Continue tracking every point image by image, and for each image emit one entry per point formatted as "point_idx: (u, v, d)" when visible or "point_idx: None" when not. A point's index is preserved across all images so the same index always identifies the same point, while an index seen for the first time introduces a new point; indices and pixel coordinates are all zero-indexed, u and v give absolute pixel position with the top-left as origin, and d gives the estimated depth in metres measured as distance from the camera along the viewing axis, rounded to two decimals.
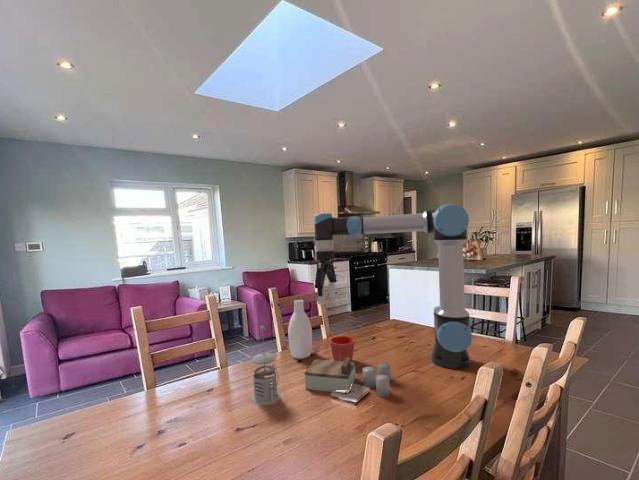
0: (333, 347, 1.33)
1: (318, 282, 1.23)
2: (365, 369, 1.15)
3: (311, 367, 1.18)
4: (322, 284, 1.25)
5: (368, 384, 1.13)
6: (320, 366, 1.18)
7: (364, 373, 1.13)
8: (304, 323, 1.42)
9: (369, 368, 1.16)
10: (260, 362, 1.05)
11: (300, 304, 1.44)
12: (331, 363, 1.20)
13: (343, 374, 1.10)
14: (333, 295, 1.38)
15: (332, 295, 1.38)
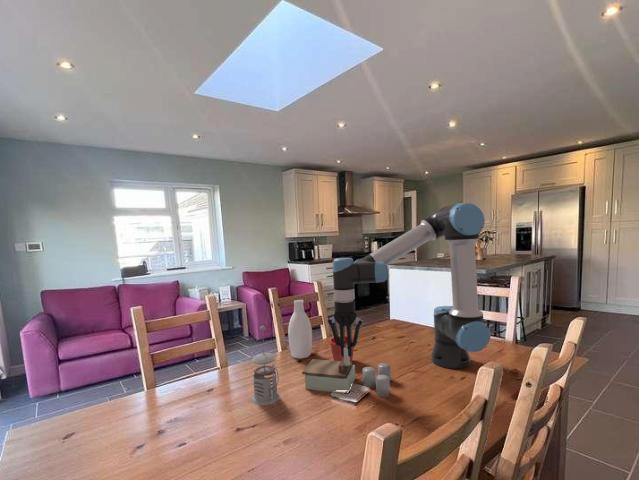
0: (333, 347, 1.33)
1: None
2: (365, 369, 1.15)
3: (308, 367, 1.18)
4: (340, 343, 1.14)
5: (368, 384, 1.13)
6: (317, 366, 1.18)
7: (364, 373, 1.13)
8: (304, 323, 1.42)
9: (369, 368, 1.16)
10: (260, 362, 1.05)
11: (300, 304, 1.44)
12: (328, 363, 1.21)
13: (340, 374, 1.11)
14: None
15: None
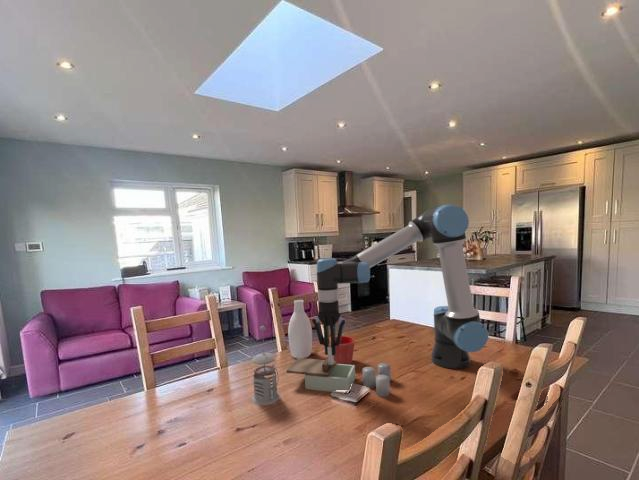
0: None
1: None
2: (365, 369, 1.15)
3: (293, 365, 1.20)
4: (324, 343, 1.16)
5: (368, 384, 1.13)
6: (302, 364, 1.20)
7: (364, 373, 1.13)
8: (304, 323, 1.42)
9: (369, 368, 1.16)
10: (260, 362, 1.05)
11: (300, 304, 1.44)
12: (313, 362, 1.22)
13: (324, 372, 1.13)
14: None
15: None
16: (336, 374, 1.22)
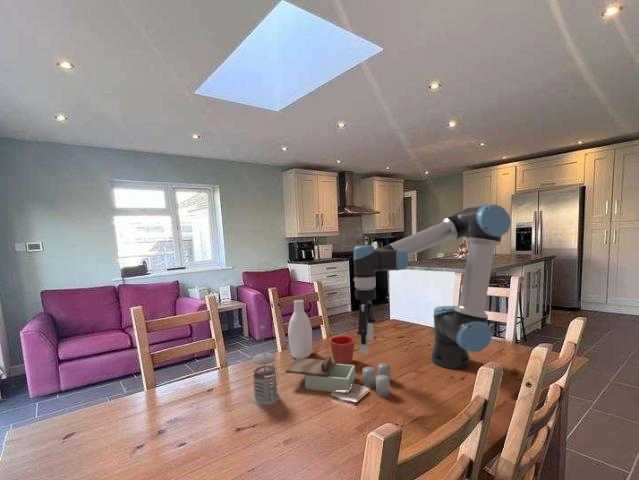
0: (333, 347, 1.33)
1: (362, 328, 1.05)
2: (365, 369, 1.15)
3: (292, 365, 1.20)
4: (366, 330, 1.07)
5: (368, 384, 1.13)
6: (301, 364, 1.20)
7: (364, 373, 1.13)
8: (304, 323, 1.42)
9: (369, 368, 1.16)
10: (260, 362, 1.05)
11: (300, 304, 1.44)
12: (313, 361, 1.23)
13: (323, 372, 1.13)
14: (371, 338, 1.21)
15: (370, 337, 1.21)
16: (336, 374, 1.22)
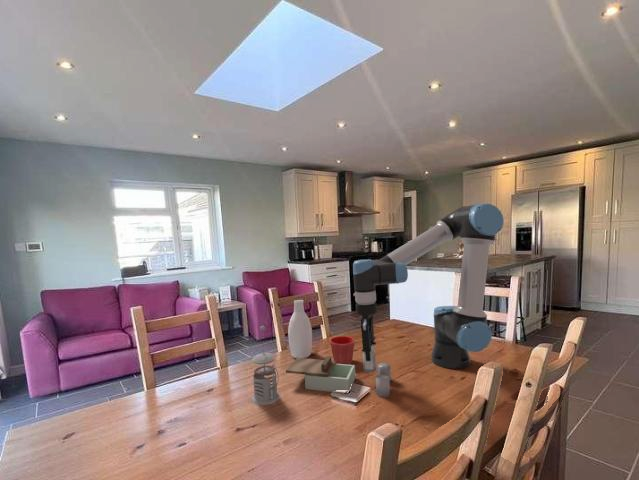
0: (333, 347, 1.33)
1: (366, 347, 1.09)
2: None
3: (292, 365, 1.20)
4: (370, 348, 1.11)
5: (368, 369, 1.13)
6: (301, 364, 1.20)
7: (364, 358, 1.13)
8: (304, 323, 1.42)
9: None
10: (260, 362, 1.05)
11: (300, 304, 1.44)
12: (313, 361, 1.23)
13: (323, 372, 1.13)
14: None
15: None
16: (336, 374, 1.22)
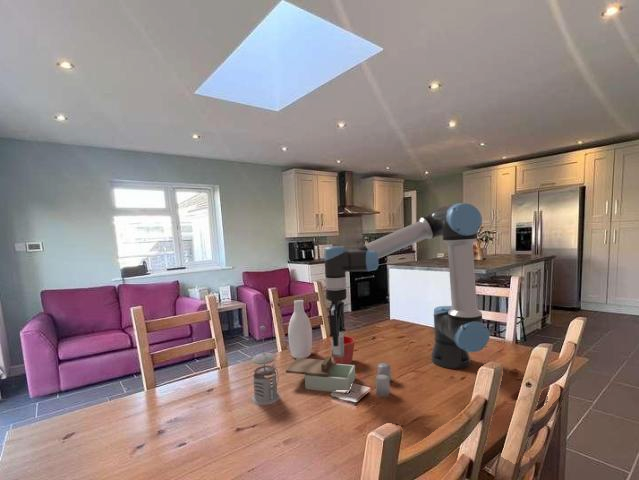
0: None
1: (334, 332, 1.10)
2: None
3: (292, 365, 1.20)
4: (338, 333, 1.12)
5: None
6: (301, 364, 1.20)
7: (332, 343, 1.15)
8: (304, 323, 1.42)
9: None
10: (260, 362, 1.05)
11: (300, 304, 1.44)
12: (313, 361, 1.23)
13: (323, 372, 1.13)
14: None
15: None
16: (336, 374, 1.22)
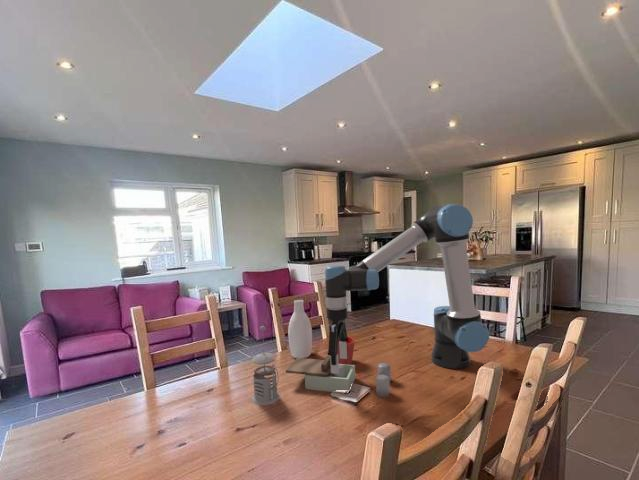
0: None
1: (332, 350, 1.07)
2: None
3: (292, 365, 1.20)
4: (336, 351, 1.08)
5: None
6: (301, 364, 1.20)
7: None
8: (304, 323, 1.42)
9: None
10: (260, 362, 1.05)
11: (300, 304, 1.44)
12: (313, 361, 1.23)
13: (323, 372, 1.13)
14: (345, 356, 1.22)
15: (343, 356, 1.22)
16: None
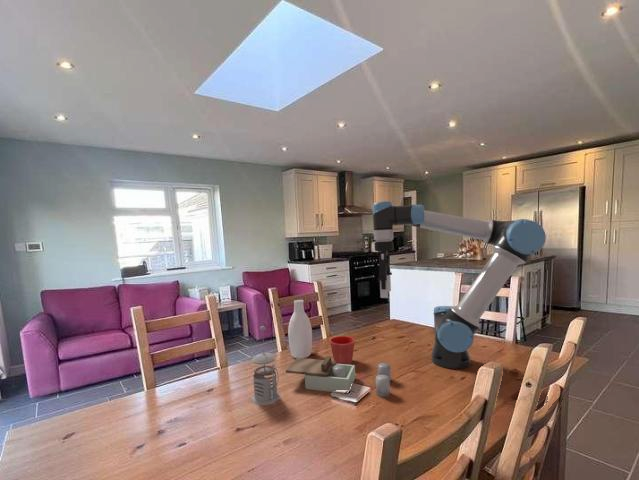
0: (333, 347, 1.33)
1: (383, 274, 1.16)
2: (335, 367, 1.16)
3: (292, 365, 1.20)
4: (386, 276, 1.17)
5: None
6: (301, 364, 1.20)
7: (333, 371, 1.15)
8: (304, 323, 1.42)
9: (339, 366, 1.17)
10: (260, 362, 1.05)
11: (300, 304, 1.44)
12: (313, 361, 1.23)
13: (323, 372, 1.13)
14: (389, 289, 1.31)
15: (388, 288, 1.31)
16: None
